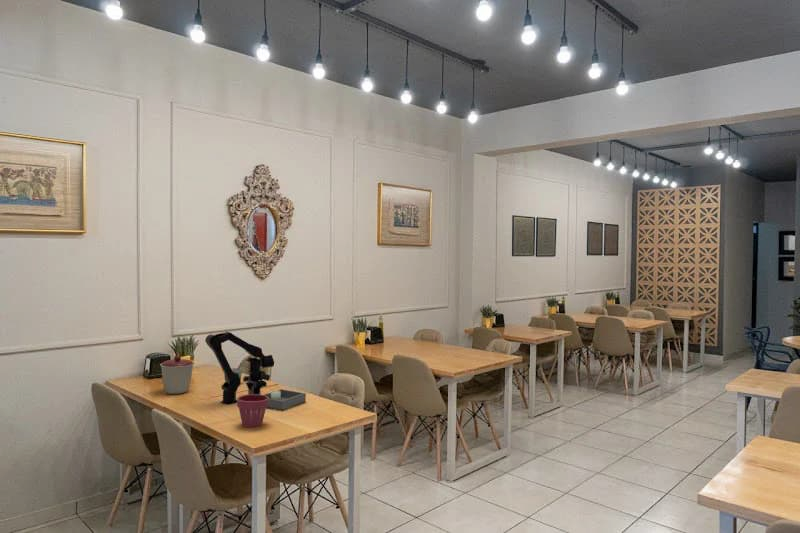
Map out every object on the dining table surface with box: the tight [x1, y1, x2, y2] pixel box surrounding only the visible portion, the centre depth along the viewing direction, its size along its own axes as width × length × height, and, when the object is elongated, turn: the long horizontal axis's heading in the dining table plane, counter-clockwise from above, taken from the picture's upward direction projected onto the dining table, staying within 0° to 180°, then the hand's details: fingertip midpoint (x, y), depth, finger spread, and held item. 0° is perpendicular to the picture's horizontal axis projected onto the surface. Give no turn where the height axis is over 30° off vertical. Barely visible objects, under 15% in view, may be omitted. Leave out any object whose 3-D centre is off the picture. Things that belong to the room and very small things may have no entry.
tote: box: [263, 388, 307, 412], centre depth 293 cm, size 20×17×5 cm
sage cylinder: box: [270, 389, 281, 400], centre depth 288 cm, size 5×5×7 cm
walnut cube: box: [247, 388, 262, 395], centre depth 303 cm, size 5×5×5 cm
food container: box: [231, 365, 244, 382], centre depth 334 cm, size 12×6×10 cm, turn 143°
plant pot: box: [236, 394, 269, 428], centre depth 256 cm, size 14×14×13 cm
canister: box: [159, 355, 195, 395], centre depth 311 cm, size 18×18×21 cm
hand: (254, 396), depth 303 cm, fingers closed on walnut cube, 5 cm apart
